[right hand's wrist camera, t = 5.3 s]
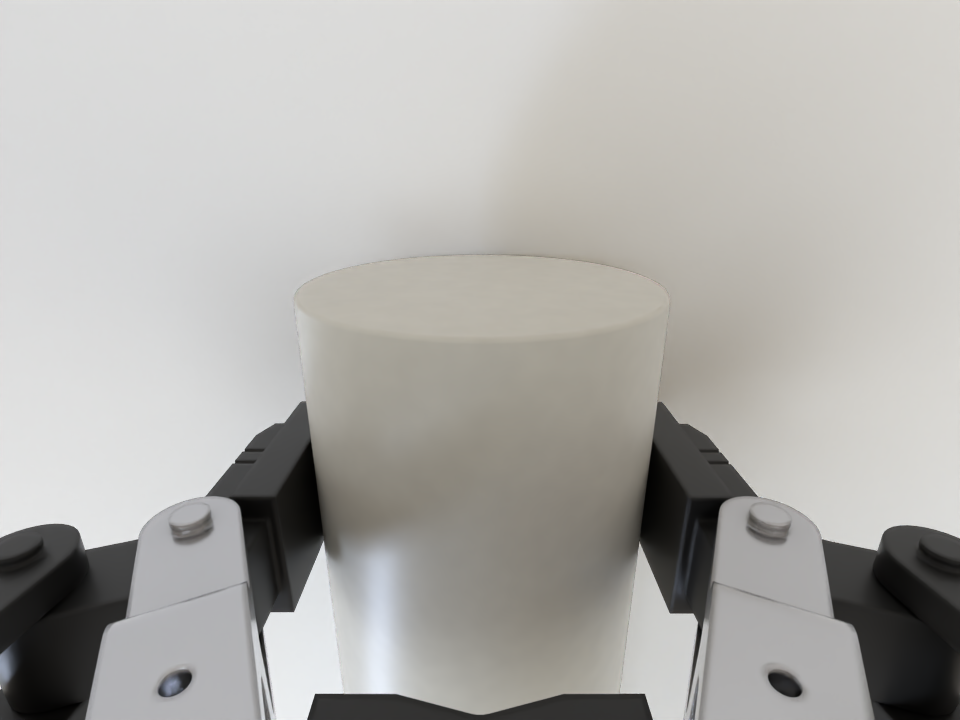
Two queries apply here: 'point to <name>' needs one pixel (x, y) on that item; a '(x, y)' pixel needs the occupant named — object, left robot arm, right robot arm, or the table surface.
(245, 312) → the table surface
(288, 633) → the table surface
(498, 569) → the cylinder
